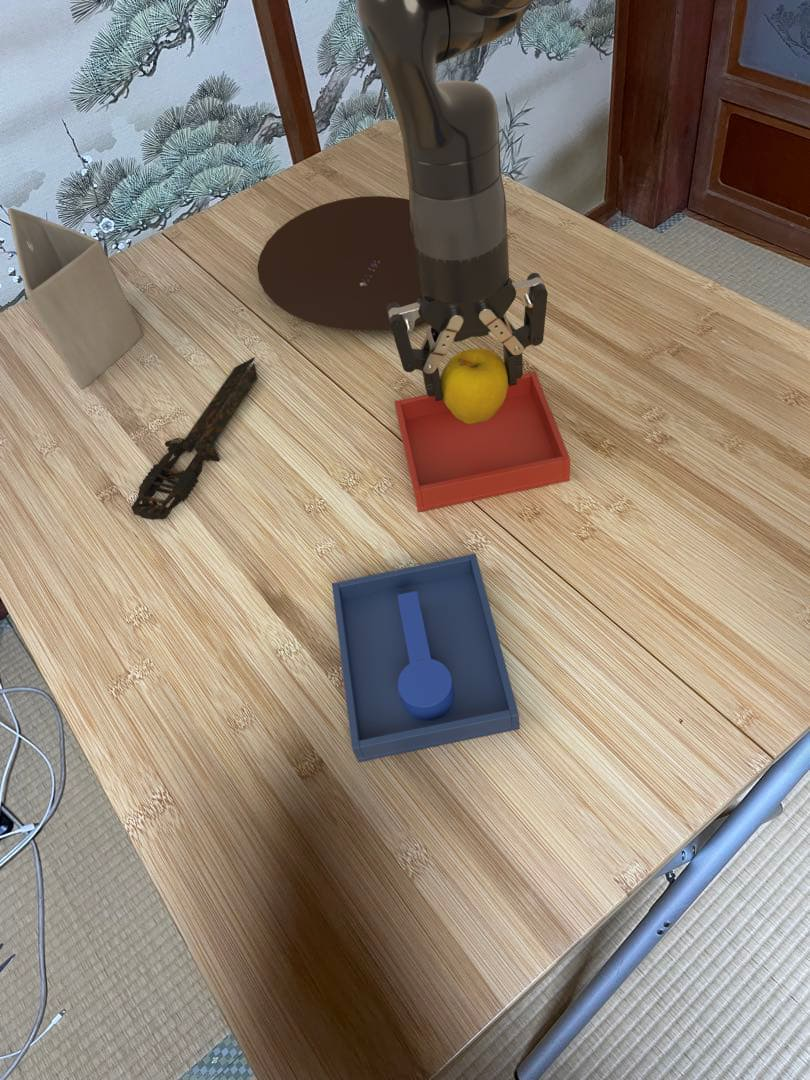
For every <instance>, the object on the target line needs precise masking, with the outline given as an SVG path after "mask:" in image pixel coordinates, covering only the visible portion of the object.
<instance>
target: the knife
mask: <svg viewBox="0 0 810 1080" xmlns="http://www.w3.org/2000/svg"><path fill="white" fill-rule="evenodd" d="M255 359H256V356H254V357H252V358H250V359H248V360H247V361H244V362H243V363H240V364H239V365H237V366H235V367H234V368H233V369H232V370H231V372H230V373H229V374H228V376H227V377H226V379H225V380H224V381H223V383H222V384H221V386H220V387H219V389H218V390H217V392H216V393H215V394H214V396H213V397H212V399H211V400H210V401H209V403H208V404H207V406H206V407H205V408H204V410H203V411H202V413H201V415H200V416H199V417H198V419H197V420H196V422H195V423H194V424H193V426H192V427H191V428H190V430H189V431H188V433H187V434H186V436H185V437H184V438H183V437H182V438H181V437H176V438H172V439H169V440H166V441H165V442H164V446H165V447H166V449H167V453H166V454H164V455H163V456H162V457H161V459H160V460H159V462H158V463H156V464H153V465H152V467H151V468H150V471H148V472H147V474H146V475H145V477H144V478H143V479H142V483H141V484H140V485H139V486H138V492H137V498H136V500H135V501H134V502H133V504H132V505H131V511H132V513H133V515H134V516H139V517H140V518H142V519H147V520H152V521H153V520H165V519H167V518H168V516H169V515H170V513H171V512H172V510H173V509H174V508H175V507H177V505H179V504H180V503H182V502H185V501H186V499H188V497H189V495H190V494H191V493H192V491H193V490H194V488H195V487H196V485H197V483H198V482H199V480H198V477H199V476H200V474H201V473H202V471H203V463H204V462H209V461H212V462H218V463H219V462H220V461H221V459H220V456H219V455H218V452H217V450H216V448H215V446H214V445H215V443H216V442H217V440H218V439H219V437H220V436H221V434H222V433H223V431H224V430H225V428H226V427H227V426H228V424H229V422H230V420H231V419H232V417H233V416H234V414H235V413H236V411H237V410H238V409H239V407H240V406H241V404H242V402H244V400H245V399H246V397H247V395H248V394H249V392H250V391H251V389H252V387H253V386H254V385H255V383H256V382H257V380H258V374H257V370H256V365H255V362H254V361H255ZM243 376H244V377H243ZM215 417H216V418H215ZM211 423H212V424H211ZM193 450H195V452H196V453H195V455H194V456H193V458H192V459H191V461H190V462H189V464H188V465H187V467H186V468H185V470H179V471H176V470H174V469H173V467H174V466H175V464H177V461H178V460H179V459H180V457H181V456H182V454H183V453H192V452H193ZM173 456H174V457H173ZM171 458H172V459H171ZM176 479H177V481H175V480H176ZM164 481H165V482H167V483H165V482H164ZM161 487H162V488H161ZM165 488H166V489H165ZM169 489H171V490H169ZM156 492H158V493H164V494H167V496H166V498H164V499H160V498H155V497H153V496H154V495H155V493H156ZM160 504H161V505H160ZM168 504H169V506H168Z"/></svg>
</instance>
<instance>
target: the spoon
mask: <svg viewBox="0 0 810 1080" xmlns="http://www.w3.org/2000/svg"><path fill="white" fill-rule="evenodd" d="M397 597H398V603H399V608H400V613H401V619H402V624H403V629H404V635H405V640H406V646H407V651H408V656H409V662H410V664H408V665H407V666H406V667H405V668H404V669H403V670H402V672H401V674H400V676H399V678H398V690H399V694H400V697H401V701H402V704H403V707H404V708H405V710H406V711H407V713H409V714H410V715H411V716H412V717H414V718H416V719H419V720H434V719H437V718H440V717H441V716H443V715H444V714H446V713H447V712H448V711H449V709H450V708H451V706H452V704H453V702H454V696H455V694H454V687H453V682H452V677H451V674H450V672H449V670H448V668H447V667H446V666H445V665H444V664H442V663H441V662H439V661H437V660H434V659H431V654H430V649H429V644H428V639H427V635H426V630H425V625H424V620H423V615H422V610H421V605H420V601H419V596H418V592H417V591H413V592H408V593H404V594H399V595H397Z"/></svg>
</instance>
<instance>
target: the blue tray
mask: <svg viewBox="0 0 810 1080" xmlns="http://www.w3.org/2000/svg"><path fill="white" fill-rule="evenodd" d="M331 588H332V596H333V605H334V612H335V620H336V628H337V638H338V645H339V653H340V661H341V668H342V677H343V686H344V695H345V701H346V710H347V716H348V717H347V719H348V725H349V734H350V742H351V743H350V744H351V750H352V752H353V754H354V756H355V758H356V761H357V763H362V762H367V761H371V760H376V759H381V758H386V757H390V756H391V757H392V756H396V755H400V754H406V753H410V752H416V751H420V750H426V749H429V748H434V747H440V746H444V745H449V744H454V743H459V742H463V741H469V740H473V739H478V738H483V737H488V736H493V735H497V734H502V733H507V732H513V731H517V730H520V713H519V710H518V707H517V703H516V699H515V695H514V691H513V688H512V685H511V684H512V683H511V680H510V677H509V673H508V669H507V665H506V660H505V658H504V654H503V650H502V646H501V643H500V639H499V636H498V635H499V634H498V631H497V628H496V624H495V620H494V616H493V613H492V609H491V606H490V602H489V598H488V594H487V591H486V587H485V582H484V579H483V575H482V572H481V568H480V565H479V561H478V557H477V553H471V554H466V555H461V556H457V557H453V558H452V557H451V558H447V559H442V560H438V561H437V560H436V561H433V562H428V563H422V564H418V565H413V566H408V567H404V568H400V569H394V570H390V571H389V570H388V571H384V572H380V573H375V574H370V575H365V576H360V577H355V578H351V579H346V580H342V581H337V582H333V583H331ZM413 591H417V592H418V596H419V601H420V605H421V610H422V615H423V620H424V625H425V630H426V635H427V639H428V644H429V649H430V654H431V659H434V660H437V661H439V662H441V663H442V664H444V665H445V666H446V667H447V668H448V670H449V672H450V674H451V677H452V682H453V687H454V694H455V696H454V702H453V704H452V706H451V708H450V709H449V711H448V712H447V713H446V714H444V715H443V716H441V717H440V718H437V719H434V720H419V719H416V718H414V717H412V716H411V715H410V714H409V713H407V711H406V710H405V708H404V707H403V704H402V701H401V697H400V694H399V690H398V678H399V676H400V674H401V672H402V670H403V669H404V668H405V667H406V666H407V665H408V664H410V662H409V656H408V651H407V646H406V640H405V635H404V629H403V624H402V619H401V613H400V608H399V603H398V597H397V595H399V594H404V593H408V592H413Z"/></svg>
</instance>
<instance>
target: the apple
mask: <svg viewBox="0 0 810 1080" xmlns="http://www.w3.org/2000/svg"><path fill="white" fill-rule="evenodd" d="M441 371H442V372H441V373H440V382H441V389H442V397H443V401H444V402H445V404H446V406H447V407H448V408H449V409H450V411H451V412H452V413H453V415H454V416H455V417H456V418H458V419H460V420H461V421H463V422H465V423H467V424H475V423H479V422H484V421H487V420H489V419H490V418H491V417H492V416H493V415H494V414H495V413H496V412H497V411H498V409H499V408H500V407H501V406H502V404H503V402H504V400H505V397H506V394H507V389H508V375H507V370H506V366H505V364H504V359H502V357H501V356H499V355H498V354H497V353H496V352H494V351H492V350H490V349H486V348H470V349H466V350H465V349H464V350H462V351H460V352H457V353H456V354H454V355H453V356H452V357H451V358H450V359H449V361H448V362H447V363H446V365H445V366H444V368H443V369H442V370H441Z"/></svg>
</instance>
